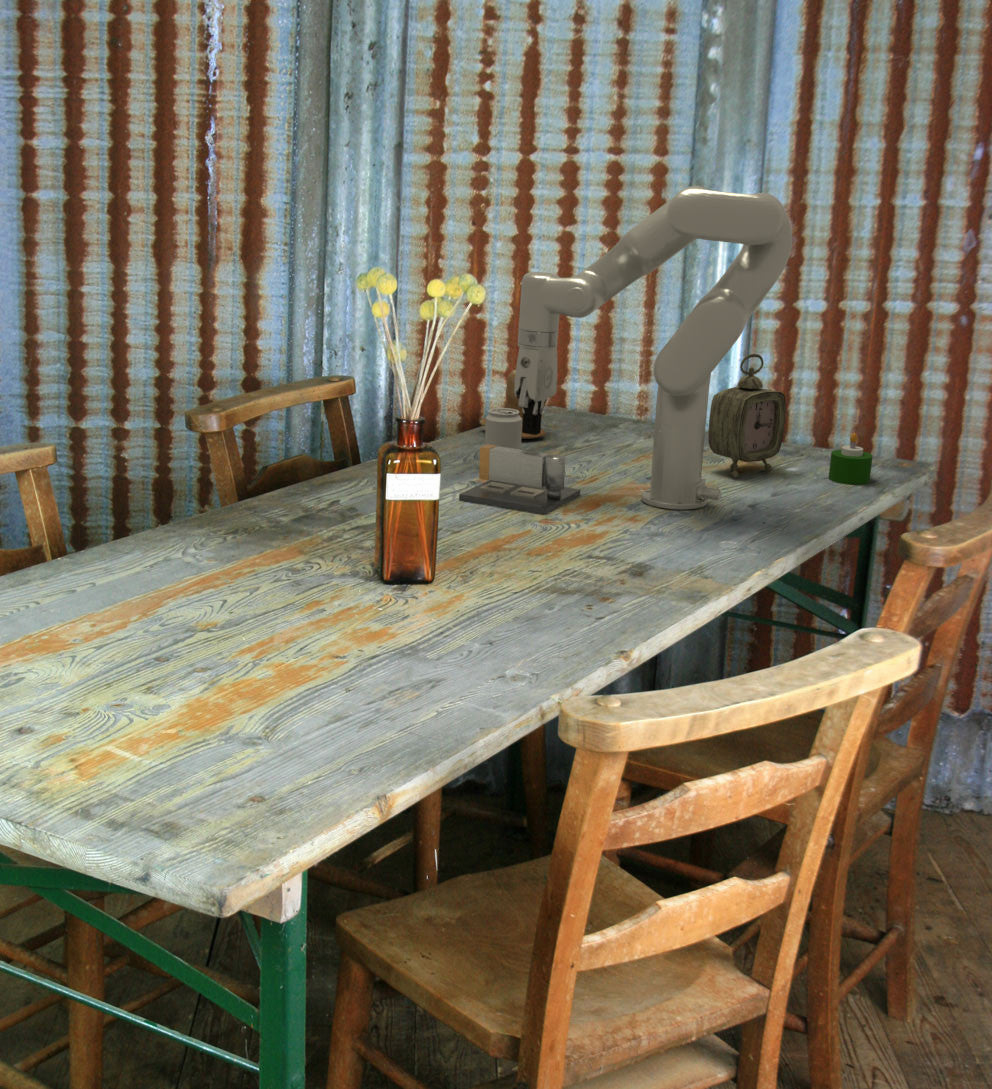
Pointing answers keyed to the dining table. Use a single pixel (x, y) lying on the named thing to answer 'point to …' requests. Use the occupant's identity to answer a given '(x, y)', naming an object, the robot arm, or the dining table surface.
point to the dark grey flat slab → (519, 496)
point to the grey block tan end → (522, 467)
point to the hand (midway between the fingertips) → (531, 433)
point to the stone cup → (516, 405)
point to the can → (503, 428)
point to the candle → (850, 464)
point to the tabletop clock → (747, 421)
